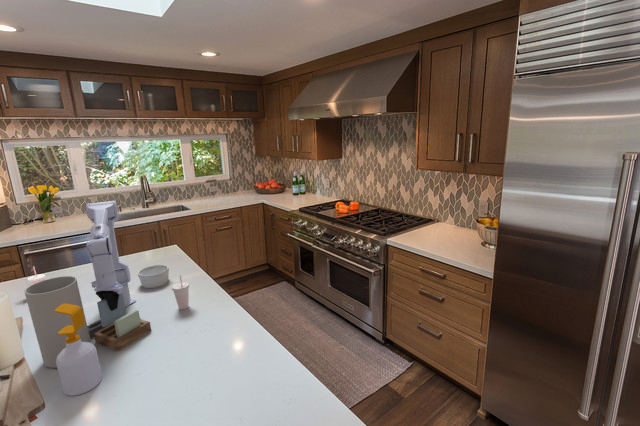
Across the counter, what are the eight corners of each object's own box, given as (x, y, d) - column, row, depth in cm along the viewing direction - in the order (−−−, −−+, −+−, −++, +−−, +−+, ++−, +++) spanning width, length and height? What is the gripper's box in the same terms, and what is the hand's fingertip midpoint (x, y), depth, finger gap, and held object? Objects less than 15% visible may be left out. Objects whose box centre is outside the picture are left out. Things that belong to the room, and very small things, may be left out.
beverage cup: (53, 292, 153) (46, 263, 149) (41, 298, 147) (33, 269, 144) (41, 292, 153) (33, 263, 150) (28, 298, 148) (20, 269, 144)
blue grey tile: (101, 326, 113) (96, 302, 111) (123, 314, 120) (119, 292, 118) (104, 327, 113) (99, 303, 110) (126, 315, 120) (122, 292, 118)
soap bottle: (76, 374, 98) (58, 299, 92) (108, 371, 99) (92, 296, 93) (55, 398, 89) (33, 316, 84) (91, 394, 90) (71, 313, 84)
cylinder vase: (52, 349, 110) (34, 280, 104) (96, 340, 115) (81, 273, 109) (37, 374, 99) (16, 298, 93) (86, 362, 103) (69, 289, 97)
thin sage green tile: (118, 345, 111) (113, 321, 109) (139, 332, 118) (135, 309, 116) (121, 346, 111) (116, 322, 109) (142, 333, 118) (138, 310, 116)
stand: (83, 335, 117) (82, 328, 117) (117, 318, 128) (115, 311, 128) (91, 338, 116) (89, 331, 115) (124, 320, 127) (123, 313, 126)
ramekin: (176, 280, 160) (174, 267, 158) (150, 292, 149) (147, 278, 148) (160, 275, 167) (158, 262, 165) (134, 286, 156) (131, 272, 155)
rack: (95, 342, 113) (93, 333, 112) (129, 323, 124) (127, 315, 123) (118, 351, 108) (116, 341, 107) (151, 330, 119) (149, 321, 118)
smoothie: (186, 311, 131) (181, 279, 128) (171, 310, 132) (166, 278, 129) (195, 303, 137) (190, 272, 134) (181, 302, 138) (176, 271, 135)
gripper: (79, 274, 112) (87, 310, 115) (106, 280, 106) (114, 318, 109) (100, 266, 118) (107, 301, 121) (127, 272, 112) (134, 308, 115)
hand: (112, 308), depth 115 cm, fingers closed on blue grey tile, 1 cm apart
